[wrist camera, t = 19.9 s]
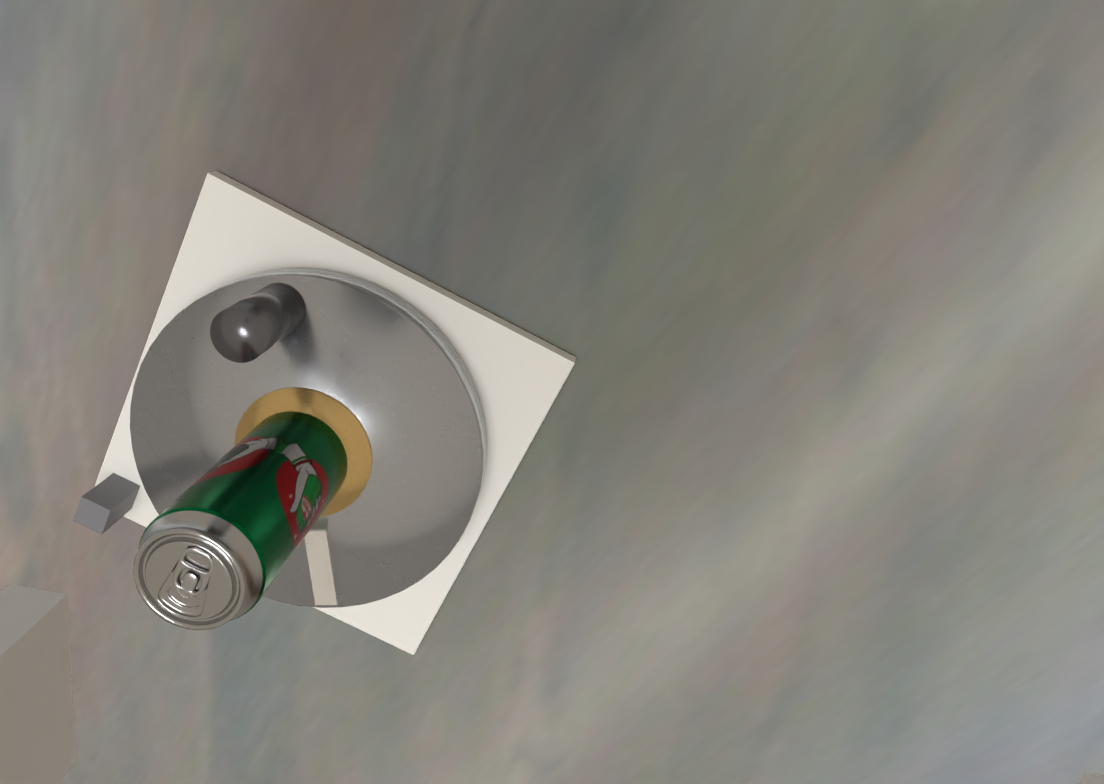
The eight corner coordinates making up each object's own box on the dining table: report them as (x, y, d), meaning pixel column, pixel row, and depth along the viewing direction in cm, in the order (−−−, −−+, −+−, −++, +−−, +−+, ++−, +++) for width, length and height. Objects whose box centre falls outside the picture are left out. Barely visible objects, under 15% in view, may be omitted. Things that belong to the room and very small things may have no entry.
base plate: (216, 171, 44) (177, 179, 40) (576, 357, 45) (571, 382, 42) (99, 492, 50) (56, 525, 46) (417, 644, 52) (400, 688, 48)
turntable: (85, 345, 46) (-6, 389, 39) (393, 211, 42) (349, 234, 36) (253, 626, 51) (198, 708, 44) (541, 527, 47) (527, 600, 41)
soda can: (238, 472, 45) (106, 604, 34) (272, 389, 43) (144, 498, 32) (330, 516, 45) (228, 660, 34) (366, 435, 44) (272, 558, 32)
